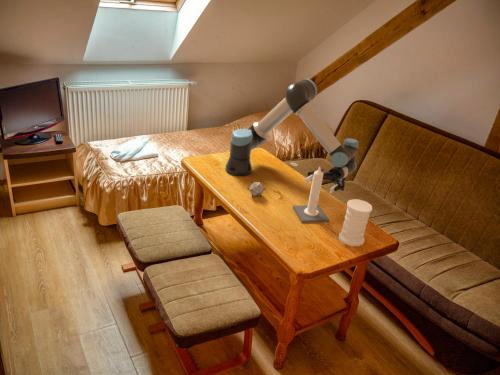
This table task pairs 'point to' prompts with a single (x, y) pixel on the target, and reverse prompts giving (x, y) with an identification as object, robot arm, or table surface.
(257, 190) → the game die
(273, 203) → the table surface
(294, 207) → the slate tile
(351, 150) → the robot arm
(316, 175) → the candle
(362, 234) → the decorative container
